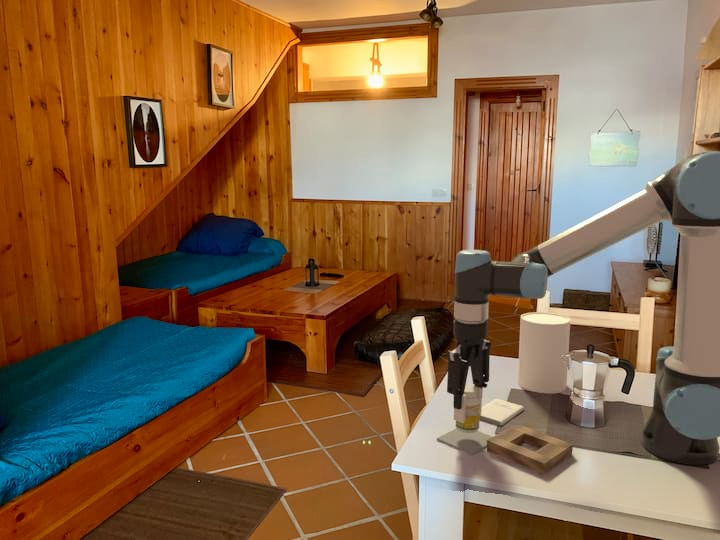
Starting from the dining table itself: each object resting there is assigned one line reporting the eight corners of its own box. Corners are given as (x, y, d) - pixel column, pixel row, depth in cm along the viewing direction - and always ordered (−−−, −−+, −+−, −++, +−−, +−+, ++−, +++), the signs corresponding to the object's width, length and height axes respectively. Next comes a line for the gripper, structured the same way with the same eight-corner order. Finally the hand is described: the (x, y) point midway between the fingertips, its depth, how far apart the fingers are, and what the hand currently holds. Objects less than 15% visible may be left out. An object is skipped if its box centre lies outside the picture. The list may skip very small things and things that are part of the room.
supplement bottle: (480, 434, 128) (481, 393, 126) (456, 433, 128) (457, 393, 127) (477, 423, 133) (478, 384, 131) (454, 422, 134) (455, 384, 132)
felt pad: (498, 440, 131) (498, 438, 131) (472, 455, 124) (472, 453, 124) (462, 426, 138) (463, 425, 138) (436, 439, 131) (436, 438, 131)
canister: (573, 393, 158) (577, 324, 155) (524, 393, 158) (527, 324, 155) (557, 376, 171) (561, 312, 168) (512, 376, 172) (515, 312, 168)
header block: (572, 454, 124) (572, 444, 124) (543, 474, 116) (544, 463, 116) (516, 433, 134) (516, 423, 134) (486, 450, 126) (486, 440, 126)
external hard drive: (471, 418, 144) (495, 403, 153) (500, 428, 138) (523, 411, 148) (471, 412, 143) (495, 397, 153) (501, 421, 138) (523, 405, 147)
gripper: (480, 309, 135) (477, 401, 139) (431, 323, 123) (429, 423, 127) (508, 315, 130) (504, 410, 134) (458, 330, 117) (456, 435, 121)
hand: (467, 416), depth 130 cm, fingers closed on supplement bottle, 5 cm apart
